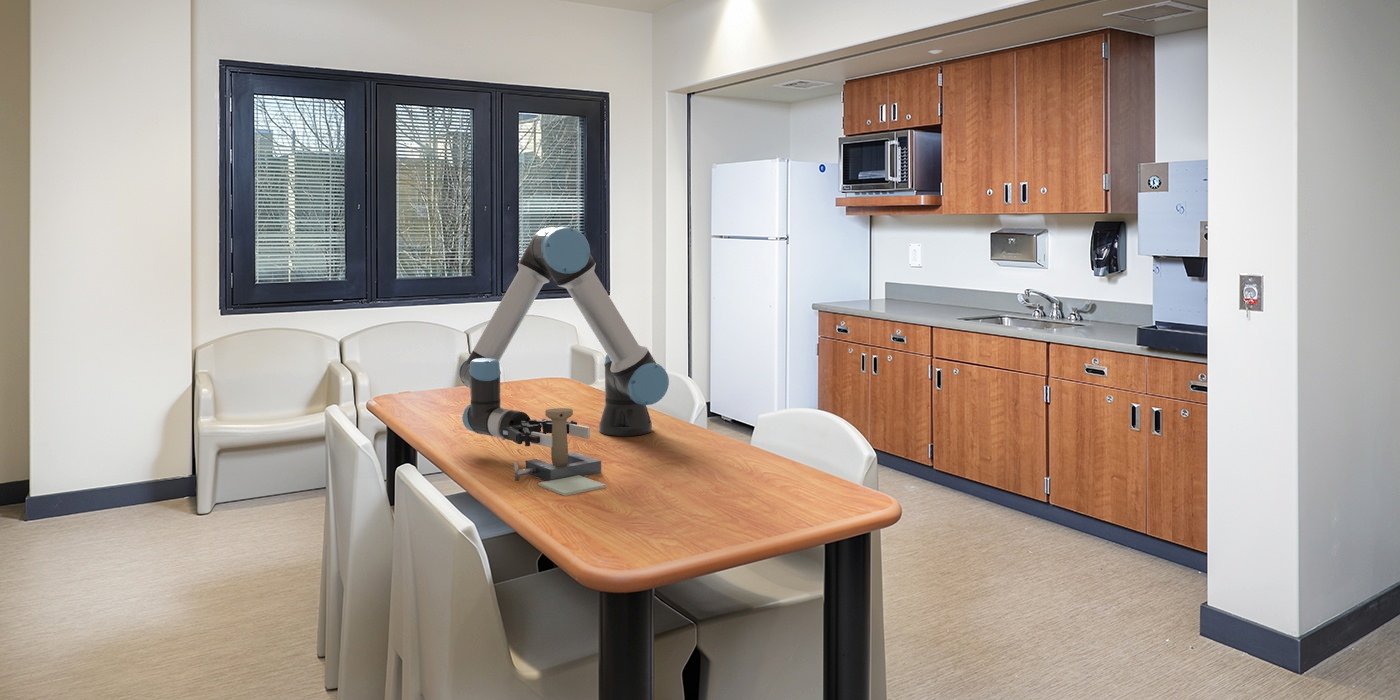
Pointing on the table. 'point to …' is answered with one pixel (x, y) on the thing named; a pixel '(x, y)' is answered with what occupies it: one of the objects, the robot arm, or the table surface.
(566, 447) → the handle
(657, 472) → the table surface
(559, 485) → the mat
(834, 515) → the table surface
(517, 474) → the vise
